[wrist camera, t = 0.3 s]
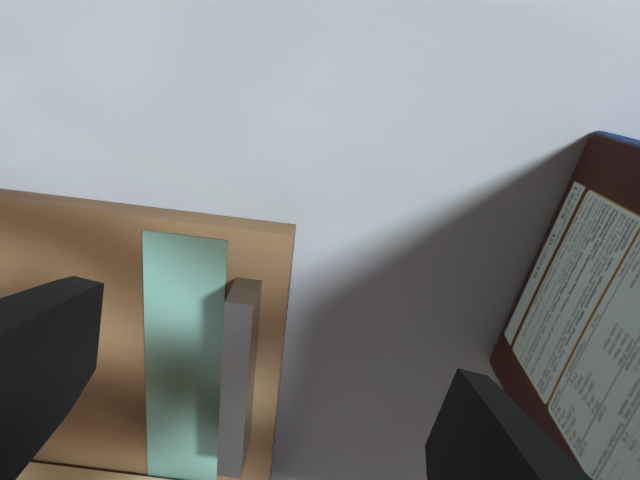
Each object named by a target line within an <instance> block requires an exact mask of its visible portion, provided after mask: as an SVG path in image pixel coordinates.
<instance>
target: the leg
mask: <svg viewBox="0 0 640 480" xmlns="http://www.w3.org/2000/svg"><path fill="white" fill-rule="evenodd" d="M16 480H170V479H162V478H154V477H146V476H138V475H130V474H122V473H114V472H106V471H98V470H90V469H82V468H74V467H66V466H58V465H50V464H42V463H34V462H30V463H29V464H28V465H27V466H26V468H25V469H24V470H23V471H22V472H21V474H20V475H19V476H18V477H17V479H16Z"/></svg>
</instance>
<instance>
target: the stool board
mask: <svg viewBox="0 0 640 480" xmlns="http://www.w3.org/2000/svg"><path fill="white" fill-rule="evenodd" d="M295 229H296V225H294V224H286V223H278V222H269V221H261V220H253V219H245V218H237V217H228V216H220V215H212V214H204V213H196V212H187V211H179V210H171V209H163V208H155V207H146V206H138V205H130V204H122V203H114V202H105V201H97V200H89V199H81V198H73V197H64V196H56V195H48V194H40V193H32V192H23V191H15V190H7V189H0V298H3V297H6V296H9V295H12V294H15V293H18V292H21V291H24V290H27V289H30V288H33V287H36V286H39V285H42V284H45V283H49V282H52V281H55V280H59V279H62V278H66V277H70V276H77V277H81V278H85V279H89V280H93V281H98V282H102V283H104V293H103V303H102V313H101V324H100V334H99V345H98V355H97V366H96V370H95V371H94V373H93V375H92V377H91V378H90V380H89V382H88V383H87V385H86V387H85V388H84V390H83V392H82V393H81V395H80V396H79V398H78V400H77V401H76V403H75V404H74V406H73V407H72V409H71V411H70V412H69V414H68V415H67V416H66V417H65V419H64V420H63V421H62V423H61V424H60V425H59V426H58V428H57V429H56V430H55V431H54V433H53V434H52V435H51V436H50V438H49V439H48V440H47V441H46V443H45V444H44V445H43V446H42V448H41V449H40V450H39V451H38V453H37V454H36V455H35V456H34V458H33V459H32V460H31V461H30V462H34V463H42V464H50V465H58V466H66V467H74V468H82V469H90V470H98V471H106V472H114V473H122V474H130V475H138V476H146V477H154V478H162V479H170V480H271V470H272V459H273V449H274V439H275V429H276V419H277V409H278V399H279V389H280V379H281V369H282V359H283V349H284V339H285V329H286V319H287V309H288V299H289V289H290V279H291V269H292V259H293V249H294V239H295ZM236 277H238V278H246V279H254V280H262V291H261V304H260V317H259V331H258V344H257V357H256V370H255V383H254V396H253V409H252V422H251V435H250V444H249V448H248V452H247V456H246V460H245V464H244V468H243V472H242V476H241V478H234V477H226V476H218V475H217V455H218V433H219V411H220V389H221V367H222V345H223V323H224V302H225V300H226V298H227V296H228V294H229V292H230V290H231V288H232V286H233V284H234V282H235V279H236Z"/></svg>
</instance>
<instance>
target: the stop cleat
mask: <svg viewBox="0 0 640 480" xmlns="http://www.w3.org/2000/svg"><path fill="white" fill-rule="evenodd" d="M261 291H262V280H254V279H246V278H238V277H236V279H235V282H234V284H233V286H232V288H231V290H230V292H229V294H228V296H227V298H226V300H225V302H224V323H223V345H222V367H221V389H220V411H219V433H218V455H217V475H218V476H226V477H234V478H241V476H242V472H243V468H244V464H245V460H246V456H247V452H248V448H249V444H250V435H251V422H252V409H253V396H254V383H255V370H256V357H257V344H258V331H259V317H260V304H261Z"/></svg>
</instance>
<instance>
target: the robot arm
mask: <svg viewBox="0 0 640 480" xmlns="http://www.w3.org/2000/svg"><path fill="white" fill-rule="evenodd" d="M103 293H104V283H102V282H98V281H93V280H89V279H85V278H81V277H77V276H70V277H66V278H62V279H59V280H55V281H52V282H49V283H45V284H42V285H39V286H36V287H33V288H30V289H27V290H24V291H21V292H18V293H15V294H12V295H9V296H6V297H3V298H0V480H16V479H17V477H18V476H19V475H20V474H21V472H22V471H23V470H24V469H25V468H26V466H27V465H28V464H29V463H30V461H31V460H32V459H33V458H34V456H35V455H36V454H37V453H38V451H39V450H40V449H41V448H42V446H43V445H44V444H45V443H46V441H47V440H48V439H49V438H50V436H51V435H52V434H53V433H54V431H55V430H56V429H57V428H58V426H59V425H60V424H61V423H62V421H63V420H64V419H65V417H66V416H67V415H68V414H69V412H70V411H71V409H72V407H73V406H74V404H75V403H76V401H77V400H78V398H79V396H80V395H81V393H82V392H83V390H84V388H85V387H86V385H87V383H88V382H89V380H90V378H91V377H92V375H93V373H94V371H95V370H96V366H97V355H98V345H99V334H100V324H101V313H102V303H103ZM425 451H426V467H427V480H593V479H592V478H590V477H589V476H588V475H587V474H586V473H585V472H584V471H583V470H582V469H581V468H580V467H579V466H578V465H577V464H576V463H575V462H574V461H573V460H572V459H571V458H570V457H569V456H568V455H567V454H566V453H565V452H564V451H563V450H562V449H561V448H560V447H559V446H558V445H557V444H556V443H555V442H554V441H553V440H552V439H551V438H550V437H549V436H548V435H547V434H546V433H545V432H544V431H543V430H542V429H541V428H540V427H539V426H538V425H537V424H536V423H535V422H534V421H533V420H532V419H531V418H530V417H529V416H528V415H527V414H526V413H525V412H524V411H523V410H522V409H521V408H520V407H519V406H518V404H517V403H516V402H515V401H514V400H513V399H512V398H511V397H510V396H509V395H508V394H507V393H506V392H505V391H503V390H502V389H501V388H500V387H499V386H498V385H497V384H496V383H495V382H494V381H493V380H492V379H490V378H489V377H488V376H487V375H483V374H479V373H474V372H470V371H466V370H462V369H457V371H456V374H455V376H454V378H453V381H452V383H451V386H450V388H449V390H448V393H447V395H446V397H445V400H444V402H443V404H442V407H441V409H440V412H439V414H438V416H437V419H436V421H435V423H434V426H433V428H432V430H431V433H430V435H429V438H428V440H427V442H426V445H425Z"/></svg>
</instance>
